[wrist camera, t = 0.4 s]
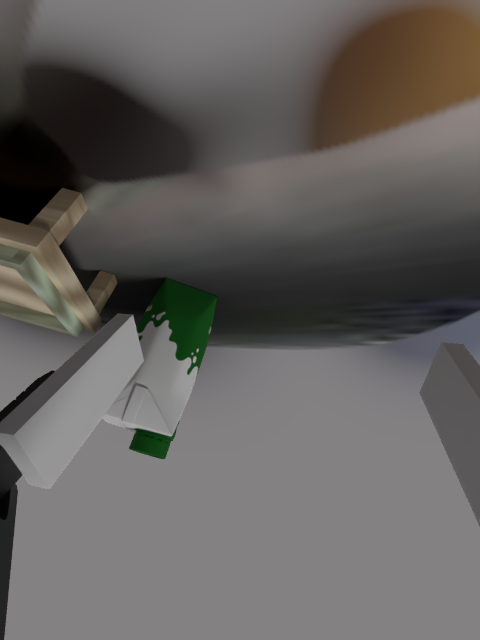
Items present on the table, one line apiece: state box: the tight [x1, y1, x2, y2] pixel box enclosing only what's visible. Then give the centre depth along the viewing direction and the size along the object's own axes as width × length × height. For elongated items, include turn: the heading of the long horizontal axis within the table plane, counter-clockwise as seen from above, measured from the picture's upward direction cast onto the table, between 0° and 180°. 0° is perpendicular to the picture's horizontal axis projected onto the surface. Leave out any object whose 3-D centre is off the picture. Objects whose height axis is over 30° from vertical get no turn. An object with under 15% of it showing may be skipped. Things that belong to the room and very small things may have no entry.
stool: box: [0, 188, 117, 337], centre depth 33 cm, size 16×16×10 cm
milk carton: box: [103, 278, 217, 459], centre depth 36 cm, size 9×9×20 cm
